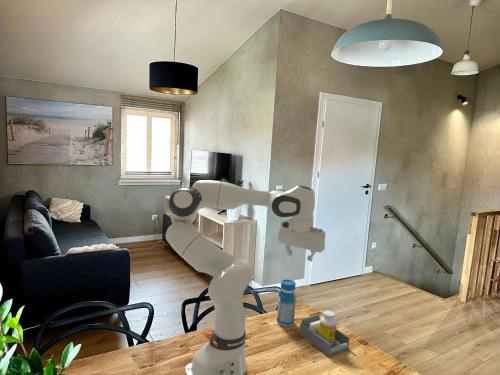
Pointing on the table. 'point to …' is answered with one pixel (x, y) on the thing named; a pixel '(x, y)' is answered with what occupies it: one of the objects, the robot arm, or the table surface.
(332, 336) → the supplement bottle
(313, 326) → the plate
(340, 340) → the pusher lane
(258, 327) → the table surface
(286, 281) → the beverage bottle
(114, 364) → the table surface
